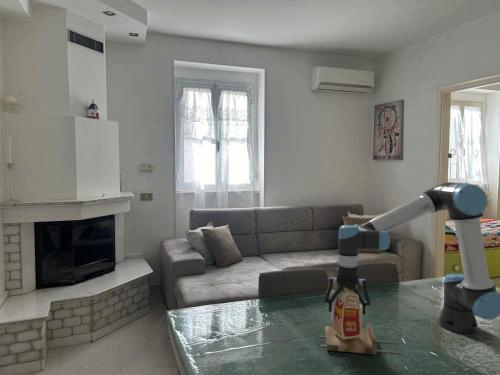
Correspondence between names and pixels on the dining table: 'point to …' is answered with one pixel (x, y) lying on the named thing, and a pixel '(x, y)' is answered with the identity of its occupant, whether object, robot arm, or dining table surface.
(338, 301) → the milk carton
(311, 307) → the dining table surface
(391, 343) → the rails
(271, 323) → the dining table surface
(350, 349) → the cart
